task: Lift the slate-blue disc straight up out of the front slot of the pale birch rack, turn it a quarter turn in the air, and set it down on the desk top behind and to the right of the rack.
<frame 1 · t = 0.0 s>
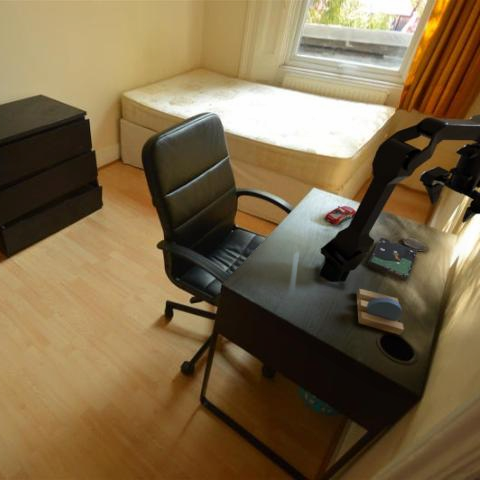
hand: (448, 212, 94), 15 cm above the table, tool pointing down, fingers open, 9 cm apart
disk drive: (389, 262, 101), on the table
blue disc: (377, 319, 83), point 1 cm above the table, touching rack
race car: (339, 218, 119), on the table
rack: (375, 315, 85), on the table
decorative disc: (413, 245, 107), on the table
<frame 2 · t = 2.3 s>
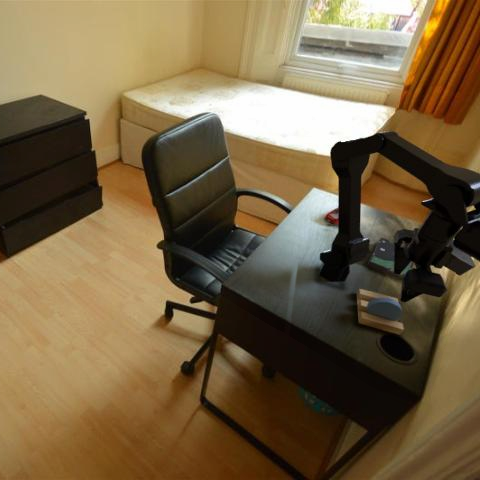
hand: (399, 287, 76), 12 cm above the table, tool pointing down, fingers open, 9 cm apart
nothing on the table moved.
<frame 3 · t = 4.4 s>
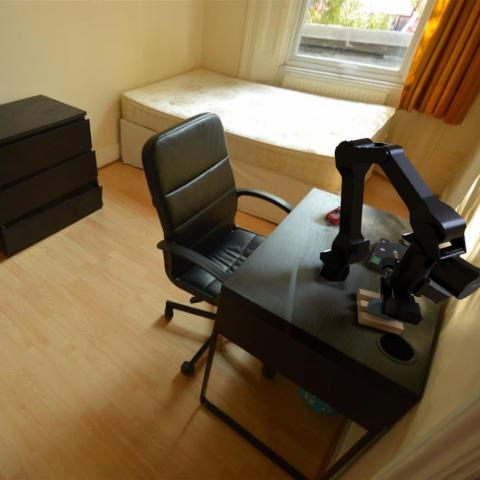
hand: (383, 311, 81), 4 cm above the table, tool pointing down, fingers closed on blue disc, 2 cm apart
blue disc: (377, 319, 83), point 1 cm above the table, touching gripper
everything else where it was.
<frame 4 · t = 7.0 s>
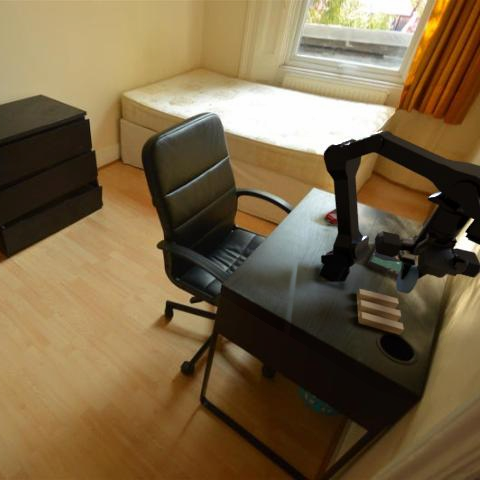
hand: (406, 279, 78), 12 cm above the table, tool pointing down, fingers closed on blue disc
blue disc: (399, 288, 80), point 9 cm above the table, touching gripper
everything else where it was.
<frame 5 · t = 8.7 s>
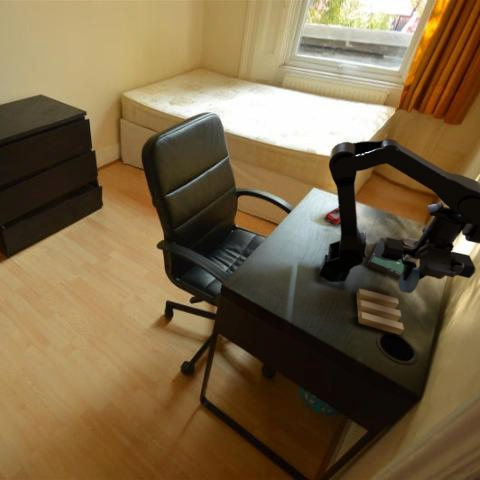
hand: (407, 280, 86), 6 cm above the table, tool pointing down, fingers closed on blue disc, 2 cm apart
blue disc: (402, 288, 88), point 3 cm above the table, touching gripper
everything else where it was.
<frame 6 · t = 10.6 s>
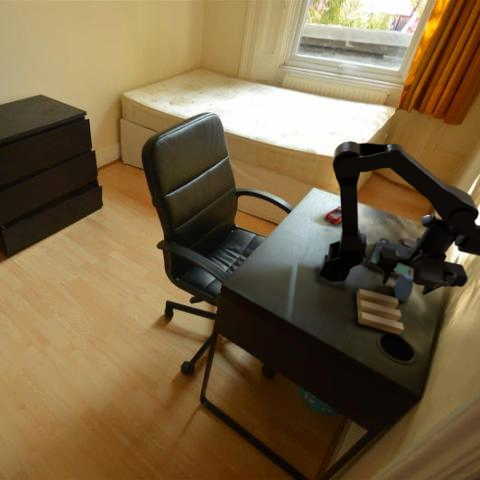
hand: (402, 288, 88), 3 cm above the table, tool pointing down, fingers open, 9 cm apart
blue disc: (396, 297, 90), on the table
everything else where it was.
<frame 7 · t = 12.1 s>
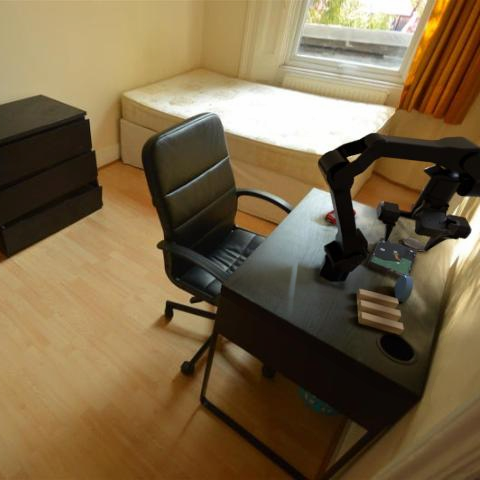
hand: (404, 245, 87), 13 cm above the table, tool pointing down, fingers open, 9 cm apart
nothing on the table moved.
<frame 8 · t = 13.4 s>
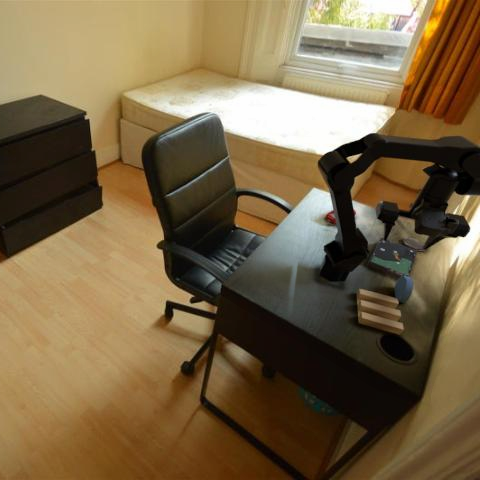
hand: (403, 244, 87), 13 cm above the table, tool pointing down, fingers open, 9 cm apart
nothing on the table moved.
at the end: blue disc inside the target area (0.0 cm from its centre), on the table; blue disc touching table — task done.
